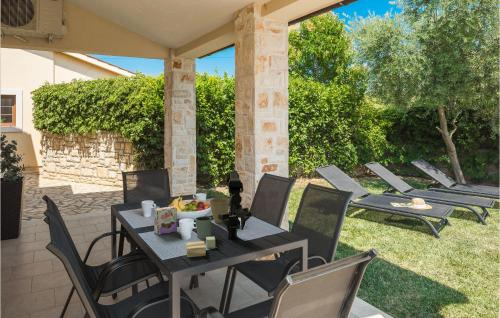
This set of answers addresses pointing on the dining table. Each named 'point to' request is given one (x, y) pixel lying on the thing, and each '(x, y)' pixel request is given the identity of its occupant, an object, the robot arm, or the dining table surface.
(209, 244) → the sage cube
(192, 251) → the oak block
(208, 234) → the grey green cup
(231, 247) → the dining table surface
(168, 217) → the candy box
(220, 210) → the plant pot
